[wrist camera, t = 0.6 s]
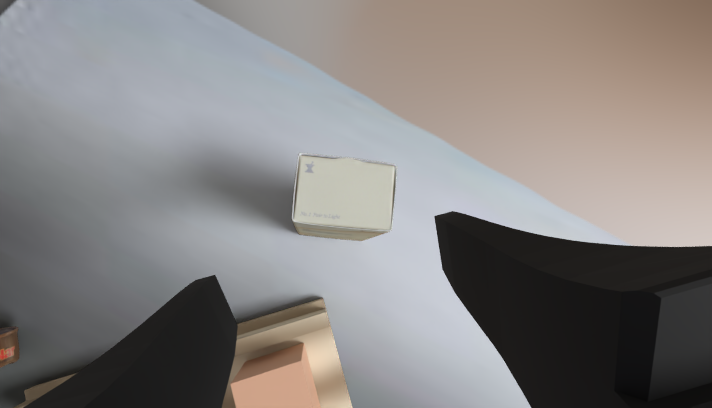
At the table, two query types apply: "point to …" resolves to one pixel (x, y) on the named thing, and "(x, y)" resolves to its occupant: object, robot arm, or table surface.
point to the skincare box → (343, 197)
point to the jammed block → (276, 381)
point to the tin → (8, 345)
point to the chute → (269, 337)
